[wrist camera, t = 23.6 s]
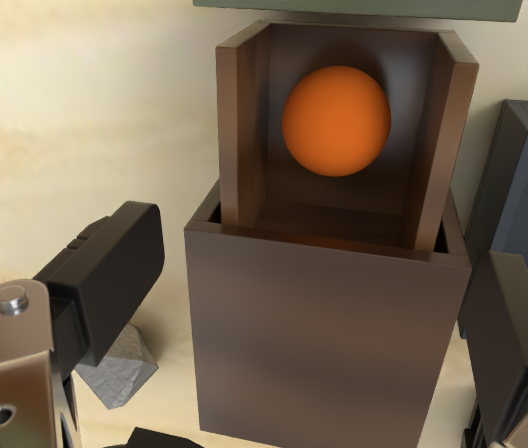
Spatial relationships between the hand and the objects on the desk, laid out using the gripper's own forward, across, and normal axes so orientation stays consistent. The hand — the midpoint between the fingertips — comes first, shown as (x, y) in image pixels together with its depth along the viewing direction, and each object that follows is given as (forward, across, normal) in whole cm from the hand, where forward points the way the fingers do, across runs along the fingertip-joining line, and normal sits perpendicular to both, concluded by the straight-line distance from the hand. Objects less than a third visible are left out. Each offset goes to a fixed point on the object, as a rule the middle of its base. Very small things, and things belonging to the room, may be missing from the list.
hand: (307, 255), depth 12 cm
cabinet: (+15, 0, +11) cm, 19 cm away
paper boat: (+15, +16, +21) cm, 30 cm away
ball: (+11, 0, 0) cm, 11 cm away
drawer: (+14, 0, 0) cm, 14 cm away
